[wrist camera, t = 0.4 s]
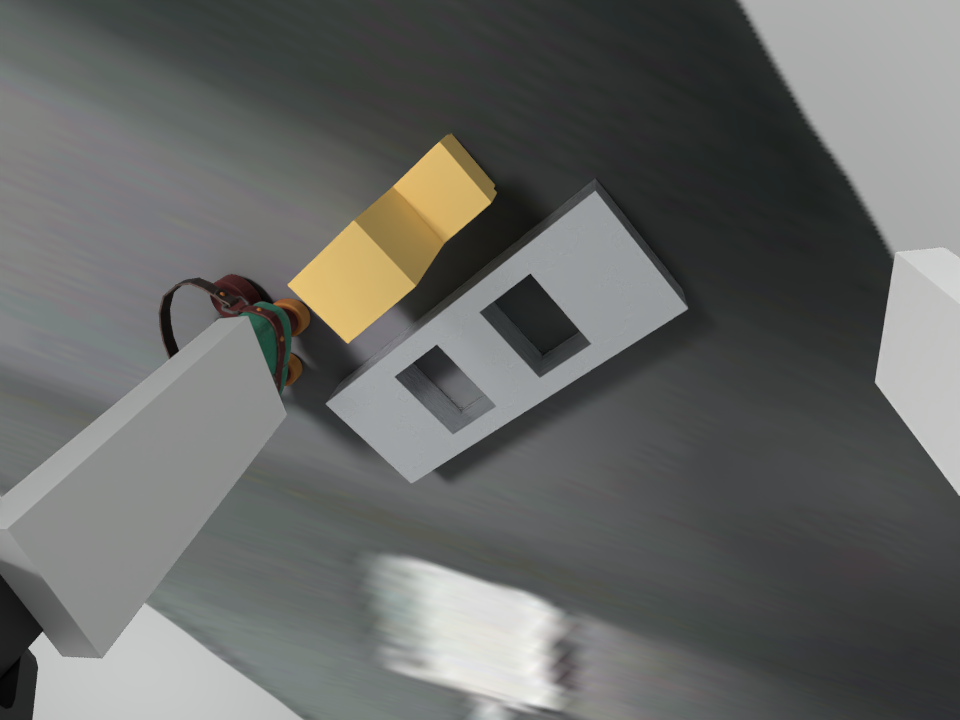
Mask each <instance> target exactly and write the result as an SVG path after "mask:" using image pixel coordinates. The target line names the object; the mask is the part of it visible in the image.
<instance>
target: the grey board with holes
mask: <svg viewBox="0 0 960 720" xmlns="http://www.w3.org/2000/svg"><path fill="white" fill-rule="evenodd" d="M529 274H531V275H532V276H533V277H534V278H535V279H536V281H537V282H538V283H539V284H540V285H541V286H542V287H543V289H544V290H545V291H546V292H547V293H548V294H549V296H550V297H551V298H552V299H553V300H554V301H555V302H556V304H557V305H558V306H559V307H560V308H561V309H562V310H563V312H564V313H565V314H566V315H567V316H568V317H569V319H570V320H571V321H572V322H573V323H574V324H575V325H576V327H577V328H578V329H579V330H580V331H579V332H578V333H576V334H575V335H573V336H572V337H570V338H569V339H567V340H566V341H564V342H563V343H561V344H560V345H558V346H557V347H555V348H554V349H552V350H551V351H549V352H548V353H546V354H545V355H544V356H543V355H542V354H541V353H540V352H539V351H538V350H537V348H536V347H535V346H534V345H533V344H532V343H531V342H530V341H529V340H528V339H527V337H526V336H525V335H524V334H523V333H522V332H521V331H520V330H519V329H518V327H517V326H516V325H515V324H514V323H513V322H512V321H511V320H510V319H509V318H508V316H507V315H506V314H505V313H504V312H503V311H502V310H501V309H500V308H499V306H498V305H497V304H496V303H495V302H494V301H495V300H496V299H497V298H499V297H500V296H501V295H503V294H504V293H505V292H507V291H508V290H509V289H511V288H512V287H513V286H515V285H516V284H517V283H518V282H520V281H521V280H522V279H524V278H525V277H526V276H528V275H529ZM687 309H688V306H687V303H686V300H685V296H684V293H683V290H682V288H681V287H680V285H679V284H678V283H677V282H676V280H675V279H674V278H673V276H672V275H671V274H670V273H669V271H668V270H667V269H666V267H665V266H664V265H663V264H662V262H661V261H660V260H659V258H658V257H657V256H656V255H655V253H654V252H653V251H652V250H651V248H650V247H649V246H648V244H647V243H646V242H645V241H644V239H643V238H642V237H641V235H640V234H639V233H638V232H637V230H636V229H635V228H634V226H633V225H632V224H631V223H630V221H629V220H628V219H627V218H626V216H625V215H624V214H623V212H622V211H621V210H620V209H619V207H618V206H617V205H616V203H615V202H614V201H613V200H612V198H611V197H610V196H609V194H608V193H607V192H606V191H605V189H604V188H603V187H602V185H601V184H600V183H599V182H598V180H597V179H596V178H595V179H593V180H592V181H591V182H590V183H588V184H587V185H586V186H585V187H583V188H582V189H581V190H580V191H578V192H577V193H576V194H575V195H573V196H572V197H571V198H570V199H568V200H567V201H566V202H565V203H563V204H562V205H561V206H560V207H558V208H557V209H556V210H555V211H553V212H552V213H551V214H550V215H548V216H547V217H546V218H545V219H543V220H542V221H541V222H540V223H538V224H537V225H536V226H535V227H533V228H532V229H531V230H530V231H528V232H527V233H526V234H525V235H523V236H522V237H521V238H520V239H519V240H517V241H516V242H515V243H514V244H512V245H511V246H510V247H509V248H507V249H506V250H505V251H504V252H502V253H501V254H500V255H499V256H497V257H496V258H495V259H494V260H492V261H491V262H490V263H489V264H487V265H486V266H485V267H484V268H482V269H481V270H480V271H479V272H477V273H476V274H475V275H474V276H472V277H471V278H470V279H469V280H467V281H466V282H465V283H464V284H462V285H461V286H460V287H459V288H457V289H456V290H455V291H454V292H452V293H451V294H450V295H449V296H447V297H446V298H445V299H444V300H442V301H441V302H440V303H439V304H437V305H436V306H435V307H434V308H432V309H431V310H430V311H429V312H427V313H426V314H425V315H424V316H422V317H421V318H420V319H419V320H417V321H416V322H415V323H414V324H412V325H411V326H410V327H409V328H407V329H406V330H405V331H404V332H402V333H401V334H400V335H399V336H397V337H396V338H395V339H394V340H392V341H391V342H390V343H389V344H387V345H386V346H385V347H384V348H382V349H381V350H380V351H379V352H377V353H376V354H375V355H374V356H372V357H371V358H370V359H369V360H367V361H366V362H365V363H364V364H362V365H361V366H360V367H359V368H357V369H356V370H355V371H354V372H352V373H351V374H350V375H349V376H347V377H346V378H345V379H344V380H342V381H341V382H340V383H339V385H338V386H337V388H336V389H335V391H334V392H333V393H332V395H331V396H330V398H329V399H328V401H327V402H326V405H327V406H328V407H329V408H330V409H331V410H332V411H334V412H335V413H336V414H337V415H338V416H339V417H340V418H341V419H342V420H343V421H344V422H345V423H347V424H348V425H349V426H350V427H351V428H352V429H353V430H354V431H355V432H356V433H357V434H358V435H359V436H361V437H362V438H363V439H364V440H365V441H366V442H367V443H368V444H369V445H370V446H371V447H372V448H374V449H375V450H376V451H377V452H378V453H379V454H380V455H381V456H382V457H383V458H384V459H385V460H386V461H388V462H389V463H390V464H391V465H392V466H393V467H394V468H395V469H396V470H397V471H398V472H399V473H401V474H402V475H403V476H404V477H405V478H406V479H407V480H408V481H409V482H410V483H413V482H415V481H416V480H418V479H419V478H421V477H423V476H424V475H426V474H427V473H429V472H431V471H432V470H434V469H435V468H437V467H438V466H440V465H442V464H443V463H445V462H446V461H448V460H450V459H451V458H453V457H454V456H456V455H457V454H459V453H461V452H462V451H464V450H465V449H467V448H469V447H470V446H472V445H473V444H475V443H476V442H478V441H480V440H481V439H483V438H484V437H486V436H488V435H489V434H491V433H492V432H494V431H495V430H497V429H499V428H500V427H502V426H503V425H505V424H507V423H508V422H510V421H511V420H513V419H514V418H516V417H518V416H519V415H521V414H522V413H524V412H526V411H527V410H529V409H530V408H532V407H534V406H535V405H537V404H538V403H540V402H541V401H543V400H545V399H546V398H548V397H549V396H551V395H553V394H554V393H556V392H557V391H559V390H560V389H562V388H564V387H565V386H567V385H568V384H570V383H572V382H573V381H575V380H576V379H578V378H579V377H581V376H583V375H584V374H586V373H587V372H589V371H591V370H592V369H594V368H595V367H597V366H598V365H600V364H602V363H603V362H605V361H606V360H608V359H610V358H611V357H613V356H614V355H616V354H617V353H619V352H621V351H622V350H624V349H625V348H627V347H629V346H630V345H632V344H633V343H635V342H636V341H638V340H640V339H641V338H643V337H644V336H646V335H648V334H649V333H651V332H652V331H654V330H656V329H657V328H659V327H660V326H662V325H663V324H665V323H667V322H668V321H670V320H671V319H673V318H675V317H676V316H678V315H679V314H681V313H682V312H684V311H686V310H687ZM435 345H438V346H439V347H440V348H441V349H442V350H443V351H444V352H445V353H446V354H447V355H448V356H449V357H450V358H451V359H452V360H453V361H454V363H455V364H456V365H457V366H458V367H459V368H460V369H461V370H462V371H463V372H464V373H465V374H466V375H467V376H468V377H469V378H470V379H471V380H472V381H473V382H474V383H475V384H476V385H477V386H478V387H479V388H480V389H481V390H482V391H483V393H484V394H485V395H484V396H483V397H481V398H480V399H478V400H477V401H475V402H474V403H472V404H471V405H469V406H468V407H466V408H465V409H463V410H462V411H461V410H460V409H459V408H458V407H457V406H456V405H455V404H454V403H453V402H452V401H451V400H450V399H449V398H448V397H447V396H446V395H445V394H444V393H443V392H442V391H441V390H440V389H439V388H438V387H437V386H436V385H435V384H434V383H433V382H432V381H431V380H430V379H429V378H428V377H427V376H426V375H425V374H424V373H423V372H422V371H421V370H420V369H419V368H418V367H417V366H416V365H415V364H414V363H413V362H414V361H416V360H417V359H418V358H420V357H421V356H422V355H424V354H425V353H426V352H428V351H429V350H430V349H432V348H433V347H434V346H435Z"/></svg>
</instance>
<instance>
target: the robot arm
mask: <svg viewBox="0 0 960 720" xmlns="http://www.w3.org/2000/svg"><path fill="white" fill-rule="evenodd" d="M875 383H876V384H877V386H878V387H879V389H880V390H881V391H882V393H883V394H884V395H885V397H886V398H887V399H888V401H889V402H890V403H891V405H892V406H893V407H894V409H895V410H896V411H897V413H898V414H899V415H900V417H901V418H902V419H903V421H904V422H905V423H906V425H907V426H908V427H909V429H910V430H911V431H912V433H913V434H914V435H915V437H916V438H917V439H918V441H919V442H920V443H921V445H922V446H923V447H924V449H925V450H926V452H927V453H928V454H929V456H930V457H931V458H932V460H933V461H934V462H935V464H936V465H937V466H938V468H939V469H940V470H941V472H942V473H943V474H944V476H945V477H946V478H947V480H948V481H949V482H950V484H951V485H952V486H953V488H954V489H955V490H956V492H957V493H958V494H959V496H960V257H958V256H957V255H955V254H954V253H952V252H951V251H949V250H948V249H947V248H945V247H941V248H930V249H920V250H910V251H899V252H895V258H894V264H893V271H892V277H891V283H890V290H889V296H888V302H887V309H886V315H885V321H884V328H883V334H882V340H881V347H880V353H879V359H878V366H877V372H876V378H875ZM286 416H287V414H286V411H285V409H284V406H283V404H282V401H281V398H280V396H279V393H278V391H277V388H276V386H275V383H274V381H273V378H272V376H271V373H270V370H269V368H268V365H267V363H266V360H265V358H264V355H263V353H262V350H261V347H260V345H259V342H258V340H257V337H256V335H255V332H254V330H253V327H252V325H251V322H250V319H249V317H248V316H241V317H231V318H220V319H218V320H217V321H215V322H214V323H213V324H212V325H210V326H209V327H208V328H207V329H206V330H204V331H203V332H202V333H201V334H200V335H198V336H197V337H196V338H195V339H193V340H192V341H191V342H190V343H189V344H187V345H186V346H185V347H184V348H183V349H181V350H180V351H179V352H178V353H176V354H175V355H174V356H173V357H172V358H170V359H169V360H168V361H167V362H166V363H164V364H163V365H162V366H161V367H159V368H158V369H157V370H156V371H155V372H153V373H152V374H151V375H150V376H149V377H147V378H146V379H145V380H144V381H142V382H141V383H140V384H139V385H138V386H136V387H135V388H134V389H133V390H131V391H130V392H129V393H128V394H127V395H125V396H124V397H123V398H122V399H121V400H119V401H118V402H117V403H116V404H114V405H113V406H112V407H111V408H110V409H108V410H107V411H106V412H105V413H104V414H102V415H101V416H100V417H99V418H97V419H96V420H95V421H94V422H93V423H91V424H90V425H89V426H88V427H87V428H85V429H84V430H83V431H82V432H80V433H79V434H78V435H77V436H76V437H74V438H73V439H72V440H71V441H70V442H68V443H67V444H66V445H65V446H63V447H62V448H61V449H60V450H59V451H57V452H56V453H55V454H54V455H52V456H51V457H50V458H49V459H48V460H46V461H45V462H44V463H43V464H42V465H40V466H39V467H38V468H37V469H35V470H34V471H33V472H32V473H31V474H29V475H28V476H27V477H26V478H25V479H23V480H22V481H21V482H20V483H18V484H17V485H16V486H15V487H14V488H12V489H11V490H10V491H9V492H8V493H6V494H5V495H4V496H3V497H1V498H0V720H32V717H33V708H34V699H35V690H36V681H37V671H38V665H37V661H36V658H35V656H34V655H33V654H32V653H31V651H30V650H29V649H28V647H29V646H30V645H31V644H32V643H33V642H34V641H35V639H36V638H37V637H38V636H39V635H40V633H42V631H43V632H44V633H45V635H46V636H47V637H48V639H49V640H50V641H51V643H52V644H53V645H54V646H55V648H56V649H57V650H58V651H59V653H60V654H61V655H62V656H65V657H66V656H67V657H87V658H103V657H104V655H105V654H106V653H107V651H108V650H109V649H110V647H111V646H112V645H113V643H114V642H115V641H116V640H117V638H118V637H119V635H120V634H121V633H122V632H123V630H124V629H125V628H126V626H127V625H128V624H129V622H130V621H131V620H132V618H133V617H134V616H135V614H136V613H137V612H138V610H139V609H140V608H141V607H142V605H143V604H144V603H145V601H146V600H147V599H148V597H149V596H150V595H151V593H152V592H153V591H154V589H155V588H156V587H157V586H158V584H159V583H160V582H161V580H162V579H163V578H164V576H165V575H166V574H167V572H168V571H169V570H170V568H171V567H172V566H173V564H174V563H175V562H176V561H177V559H178V558H179V557H180V555H181V554H182V553H183V551H184V550H185V549H186V547H187V546H188V545H189V543H190V542H191V541H192V539H193V538H194V537H195V536H196V534H197V533H198V532H199V530H200V529H201V528H202V526H203V525H204V524H205V522H206V521H207V520H208V518H209V517H210V516H211V514H212V513H213V512H214V510H215V509H216V508H217V507H218V505H219V504H220V503H221V501H222V500H223V499H224V497H225V496H226V495H227V493H228V492H229V491H230V489H231V488H232V487H233V485H234V484H235V483H236V482H237V480H238V479H239V478H240V476H241V475H242V474H243V472H244V471H245V470H246V468H247V467H248V466H249V464H250V463H251V462H252V460H253V459H254V458H255V457H256V455H257V454H258V453H259V451H260V450H261V449H262V447H263V446H264V445H265V443H266V442H267V441H268V439H269V438H270V437H271V435H272V434H273V433H274V431H275V430H276V429H277V428H278V426H279V425H280V424H281V422H282V421H283V420H284V418H285V417H286Z"/></svg>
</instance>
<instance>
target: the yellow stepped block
mask: <svg viewBox="0 0 960 720" xmlns="http://www.w3.org/2000/svg"><path fill="white" fill-rule="evenodd" d="M494 187H495V184H494V183H493V182H492V181H491V180H490V179H489V177H488V176H487V175H486V174H485V173H484V171H483V170H482V169H481V168H480V167H479V165H478V164H477V163H476V162H475V161H474V160H473V158H472V157H471V156H470V155H469V154H468V152H467V151H466V150H465V149H464V148H463V146H462V145H461V144H460V143H459V142H458V141H457V139H456V138H455V137H454V136H453V135H452V133H451V134H450V135H447V136H445V137H444V138H443V139H442V140H441V141H439V142H438V143H437V144H436V145H435V146H434V147H433V148H432V149H431V150H430V151H429V152H428V153H427V154H426V155H425V156H424V157H423V158H422V159H421V160H420V161H419V162H418V163H417V164H416V165H415V166H414V167H413V168H412V169H410V170H409V171H408V172H407V173H406V174H405V175H404V176H403V177H402V178H401V179H400V180H399V181H398V182H397V183H396V184H395V185H394V186H393V187H392V188H391V189H389V190H388V191H387V192H386V193H385V194H384V195H383V196H381V197H380V198H379V199H378V200H377V201H376V202H374V203H373V204H372V205H371V206H370V207H369V208H367V209H366V210H365V211H364V212H363V213H362V214H360V215H359V216H358V217H357V218H356V219H355V220H354V221H353V222H352V223H350V224H349V225H348V226H347V227H346V228H345V229H344V230H343V231H342V232H341V233H340V234H339V235H338V236H337V237H336V238H335V239H334V240H333V241H332V242H331V243H330V244H329V245H328V246H327V247H326V248H325V249H324V250H323V251H322V252H321V253H320V254H319V255H318V256H317V257H316V258H315V259H314V260H312V261H311V262H310V263H309V264H308V265H307V266H306V267H305V268H304V269H303V270H302V271H301V272H300V273H299V274H298V275H297V276H296V277H295V278H294V279H293V280H292V281H291V282H290V283H289V284H288V286H289V287H290V288H291V289H292V290H293V291H294V292H295V293H296V294H297V295H298V296H299V297H300V298H301V299H302V300H303V301H304V302H305V303H306V304H307V305H308V306H309V307H310V308H311V309H312V310H313V311H314V312H316V313H317V314H318V315H319V316H320V317H321V318H322V319H323V320H324V321H325V322H326V323H327V324H328V325H329V326H330V327H331V328H332V329H333V330H334V331H335V332H336V333H337V334H338V335H339V336H340V337H341V338H342V339H343V340H344V341H345V342H346V343H347V344H348V343H349V342H350V341H351V340H353V339H354V338H355V337H356V336H357V335H359V334H360V333H361V332H362V331H363V330H365V329H366V328H367V327H368V326H369V325H370V324H372V323H373V322H374V321H375V320H376V319H378V318H379V317H380V316H381V315H382V314H384V313H385V312H386V311H387V310H388V309H390V308H391V307H392V306H393V305H394V304H396V303H397V302H398V301H399V300H400V299H401V298H403V297H404V296H405V295H406V294H407V293H409V292H410V291H411V290H412V289H413V288H415V287H416V286H417V284H418V283H419V281H420V280H421V278H422V277H423V275H424V274H425V272H426V270H427V269H428V267H429V266H430V264H431V263H432V261H433V260H434V258H435V257H436V255H437V254H438V252H439V251H440V249H441V248H442V246H443V245H444V243H445V242H446V241H448V240H449V239H450V238H451V237H452V236H453V235H455V234H456V233H457V232H458V231H459V230H460V229H462V228H463V227H464V226H465V225H466V224H467V223H469V222H470V221H471V220H472V219H473V218H474V217H476V216H477V215H478V214H479V213H480V212H481V211H483V210H484V209H485V208H486V207H487V206H488V205H490V204H491V203H492V201H493V199H494V198H495V196H496V194H497V192H496V191H495V190H494Z"/></svg>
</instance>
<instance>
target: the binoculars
mask: <svg viewBox="0 0 960 720" xmlns="http://www.w3.org/2000/svg"><path fill="white" fill-rule="evenodd" d="M188 284H190V285H193V286H195V287H198V288H200V289H202V290H204V291H206V292H207V293H209V294H210V297H211V300H212V303H213V305H214V307H215V308H216V309H217V311H218V312H219V313H220V314H221V315H222V316H224V317H225V318H231V317H241V316H248V317H249V319H250V322H251V325H252V327H253V330H254V332H255V335H256V337H257V340H258V342H259V345H260V347H261V350H262V353H263V355H264V358H265V360H266V363H267V365H268V368H269V370H270V373H271V376H272V378H273V381H274V383H275V386H276V388H277V391H278V393H279V396H280V395H281V393H282V391H283V389H284V386H289V385H291V384H292V383H293V382H294V381H295V380H296V379H297V378H298V377H299V376H300V375H301V373H302V364H301V362H300V361H299V359H298V358H297V357H296V356H294V355H293V354H291V353H290V351H291V337H294V336H297V335H298V334H300V333H301V332H302V331H303V330H304V329H306V327H307V326H308V325H309V323H310V314H309V311H308V309H307V308H306V306H305V305H304V304H302V303H301V302H299V301H297V300H295V299H289V298H287V299H281V300H279V301H276V302H275V303H273V304H270V303H267V302H265V301H262V300H261V298H260V296H259V294H258V292H257V291H256V290H255V288H254V287H253V286H252V285H251V284H250V283H249V282H248V281H246V280H245V279H244V278H242V277H240V276H238V275H234V274H230V275H227V276H225V277H223V278H222V279H220V280H218V281H217V282H215V283H214V284H213V283H211V282H209V281H206V280H204V279H201V278H194V279H187V280H185V281H183V282H181V283H179V284H177V285H175V286H174V287H173V288H172V289H171V290H169V291H168V292H167V293H166V294H165V295H164V296H163V297H162V301H161V305H160V309H159V323H160V331H161V336H162V341H163V344H164V347H165V349H166V352H167V355H168V357H169V359H170V358H172V357H173V356H174V355H175V354H176V353H178V352H179V350H178V347H177V344H176V342H175V339H174V336H173V331H172V326H171V316H170V306H171V302H172V298H173V294H174V292H175V291H176V290H177V289H178V288H180V287H181V286H182V285H188Z"/></svg>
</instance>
